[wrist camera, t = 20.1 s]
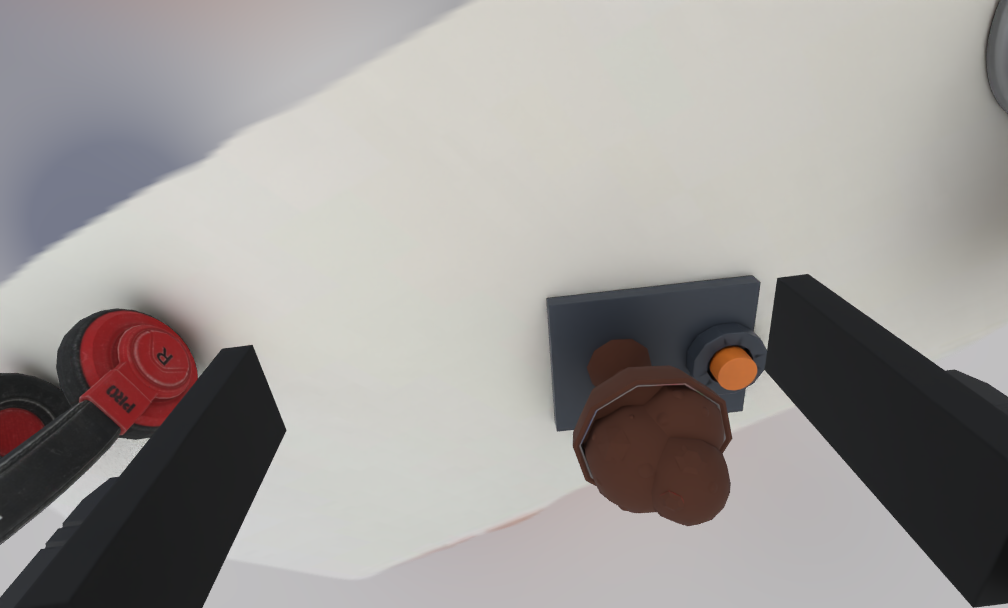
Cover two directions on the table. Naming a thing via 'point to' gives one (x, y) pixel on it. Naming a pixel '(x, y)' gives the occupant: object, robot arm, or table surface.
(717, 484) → the ice cream bowl
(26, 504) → the headphones
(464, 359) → the table surface
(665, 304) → the scale
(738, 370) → the button
